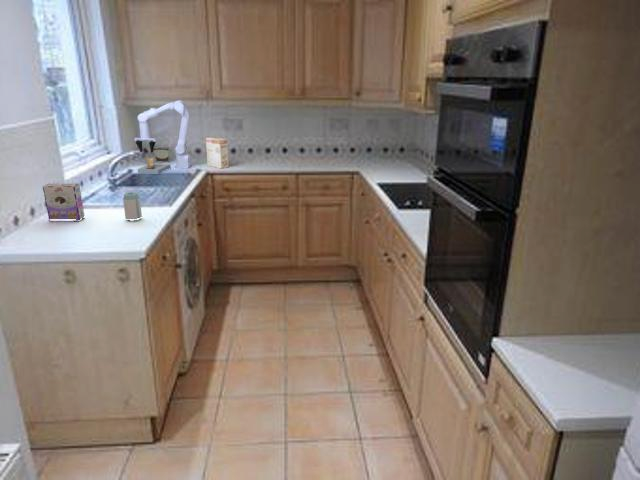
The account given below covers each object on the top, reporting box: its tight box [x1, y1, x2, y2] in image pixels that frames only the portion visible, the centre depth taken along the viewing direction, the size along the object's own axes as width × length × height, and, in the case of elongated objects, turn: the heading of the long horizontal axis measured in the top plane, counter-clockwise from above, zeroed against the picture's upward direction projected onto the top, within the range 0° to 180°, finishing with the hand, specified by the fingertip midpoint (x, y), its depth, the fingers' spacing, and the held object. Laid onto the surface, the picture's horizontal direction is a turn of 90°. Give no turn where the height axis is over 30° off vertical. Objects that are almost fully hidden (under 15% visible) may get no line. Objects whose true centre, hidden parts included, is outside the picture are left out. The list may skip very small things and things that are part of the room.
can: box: [122, 192, 143, 220], centre depth 219 cm, size 7×7×12 cm
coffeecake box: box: [205, 136, 229, 169], centre depth 335 cm, size 15×7×20 cm, turn 51°
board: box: [137, 163, 171, 175], centre depth 322 cm, size 14×18×2 cm
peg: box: [146, 157, 155, 169], centre depth 317 cm, size 4×4×9 cm
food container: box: [153, 146, 171, 163], centre depth 353 cm, size 12×6×10 cm, turn 84°
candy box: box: [42, 182, 85, 220], centre depth 217 cm, size 14×6×16 cm, turn 92°
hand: (146, 152), depth 329 cm, fingers open, 7 cm apart
